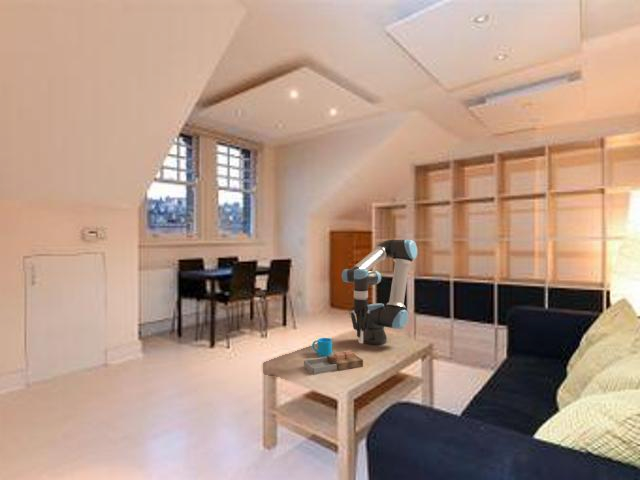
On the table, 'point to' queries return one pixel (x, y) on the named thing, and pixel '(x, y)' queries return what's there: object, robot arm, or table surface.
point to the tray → (319, 365)
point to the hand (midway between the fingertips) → (360, 342)
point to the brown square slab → (345, 362)
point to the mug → (323, 347)
